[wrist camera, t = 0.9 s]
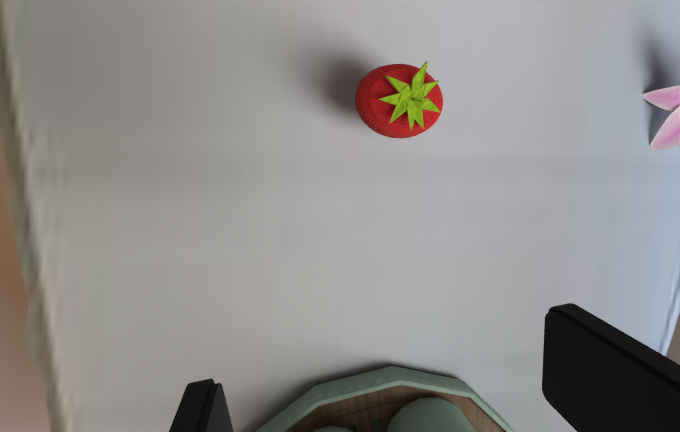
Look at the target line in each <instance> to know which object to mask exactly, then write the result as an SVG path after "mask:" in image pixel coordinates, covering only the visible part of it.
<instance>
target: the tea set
mask: <svg viewBox="0 0 680 432" xmlns="http://www.w3.org/2000/svg"><path fill="white" fill-rule="evenodd" d="M255 432H514V431H513V430H512V428H511V427H510V426H509V425H508V423H507V422H506V421H505V420H504V419H503V418H502V417H501V416H500V415H499V414H498V413H497V412H495V411H494V410H493V409H492V408H491V407H490V406H489V405H488V404H487V403H486V402H485V401H484V400H483V399H482V398H481V397H480V396H479V395H478V394H477V393H476V392H475V391H474V390H472V389H471V388H470V387H469V386H468V385H467V384H466V383H465V382H463V381H461V380H459V379H456V378H451V377H446V376H441V375H436V374H431V373H426V372H421V371H416V370H411V369H406V368H401V367H396V366H389V367H385V368H381V369H377V370H373V371H369V372H365V373H361V374H357V375H353V376H349V377H345V378H341V379H337V380H333V381H329V382H325V383H322V384H318V385H315V386H314V387H312V388H311V389H310V390H308V391H307V392H306V393H304V394H303V395H302V396H300V397H299V398H298V399H297V400H295V401H294V402H293V403H291V404H290V405H289V406H287V407H286V408H285V409H283V410H282V411H281V412H279V413H278V414H277V415H276V416H274V417H273V418H272V419H270V420H269V421H268V422H266V423H265V424H264V425H262V426H261V427H260V428H259V429H257V430H256V431H255Z"/></svg>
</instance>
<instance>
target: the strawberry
mask: <svg viewBox="0 0 680 432" xmlns="http://www.w3.org/2000/svg"><path fill="white" fill-rule="evenodd" d="M426 67H427V62H426V63H425V64H424V65H423V66H422V67H421V68H420V69H419V68H417V67H414V66H411V65H406V64H392V65H386V66H382V67H379V68H377V69H374V70H372V71H371V72H370V73H368V74H367V75H366V76H365V77H364V78H363V79H362V80H361V82H360V83H359V85H358V87H357V91H356V94H355V103H356V108H357V111H358V113H359V116H360V117H361V119H362V120H363V122H364V123H365V124H366V125H367V126H368V127H369V128H371V129H372V130H374V131H375V132H377V133H379V134H381V135H384V136H387V137H391V138H409V137H412V136H416V135H418V134H420V133H422V132H424V131H426V130H427V129H428V128H430V127H431V126H432V125H433V124H434V123H435V122H436V121H437V119H438V118H439V116H440V114H441V111H442V105H443V99H442V93H441V90H440V88H439V86H438V84H437V83H438V82H439V81H438V80H437V81H435V80H434V79H433V78H432V77H431V76H430V75H429V74H428V73H426Z"/></svg>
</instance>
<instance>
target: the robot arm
mask: <svg viewBox="0 0 680 432" xmlns="http://www.w3.org/2000/svg"><path fill="white" fill-rule="evenodd" d="M542 391H543V394H544V396H545V398H546V400H547V401H548V402H549V404H550V405H551V406H552V407H553V408H554V409H555V410H556V411H557V412H558V413H559V414H560V415H561V416H562V417H563V418H564V419H565V420H566V421H567V422H568V423H569V424H570V425H571V426H572V427H573V428H574V429H575V430H576V431H577V432H680V365H679V364H677V363H675V362H674V361H672V360H670V359H669V358H667V357H665V356H663V355H662V354H660V353H658V352H656V351H655V350H653V349H651V348H649V347H648V346H646V345H644V344H643V343H641V342H639V341H637V340H636V339H634V338H632V337H630V336H629V335H627V334H625V333H624V332H622V331H620V330H618V329H617V328H615V327H613V326H611V325H610V324H608V323H606V322H605V321H603V320H601V319H599V318H598V317H596V316H594V315H592V314H591V313H589V312H587V311H586V310H584V309H582V308H580V307H579V306H577V305H575V304H572V303H568V304H564V305H559V306H554V307H551V308H550V309H549V312H548V314H546V316H545V330H544V354H543V378H542ZM169 432H233V428H232V424H231V420H230V416H229V412H228V407H227V403H226V399H225V395H224V391H223V387H222V385H221V383H217V384H215V383H214V381H213V379H207V380H202V381H198V382H193V383H189V384H188V385H187V387H186V389H185V392H184V394H183V397H182V400H181V402H180V405H179V407H178V410H177V412H176V415H175V418H174V420H173V423H172V425H171V428H170V431H169Z"/></svg>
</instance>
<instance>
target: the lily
mask: <svg viewBox="0 0 680 432" xmlns="http://www.w3.org/2000/svg"><path fill="white" fill-rule="evenodd" d="M643 98H644V99H645V100H647V101H648V102H650V103H652V104H654V105H655V106H658V107H660V108H662V109H664V110H667V111H670V112H672V113H671V115H670V116H669V117H668V118H667V119H666V121H665V122H664V124H663V125H662V127H661V128H660V130H659V131H658V133H657V134H656V135H655V137H654V139H653V140H652V142H651V144H650V149H651V150H653V151H656V150H662V149H667V148H671V147H675V146H678V145H680V85H679V86H673V87H668V88H663V89H659V90H655V91H651V92H647V93H645V94H643Z"/></svg>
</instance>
